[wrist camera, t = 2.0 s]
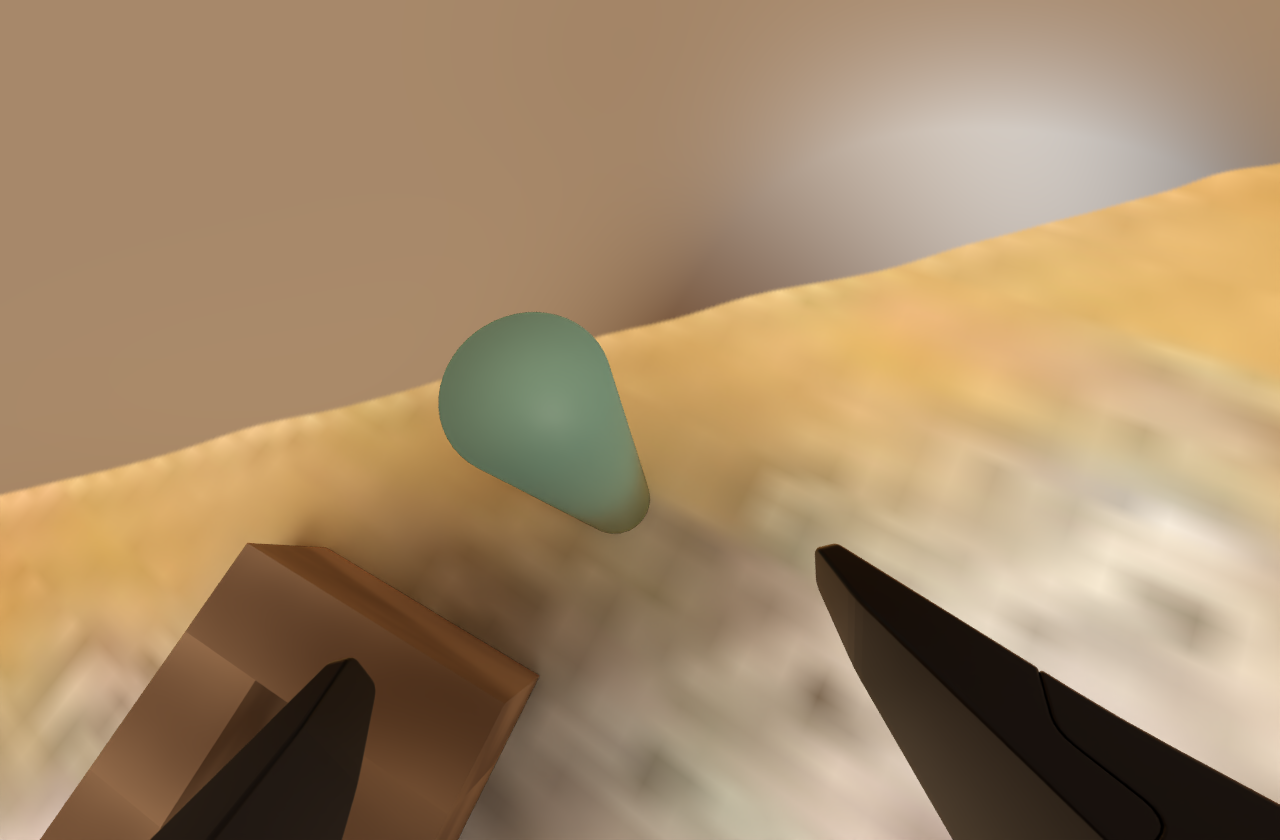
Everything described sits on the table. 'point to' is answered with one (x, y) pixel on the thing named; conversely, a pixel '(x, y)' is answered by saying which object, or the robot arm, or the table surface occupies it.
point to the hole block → (277, 670)
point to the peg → (545, 418)
